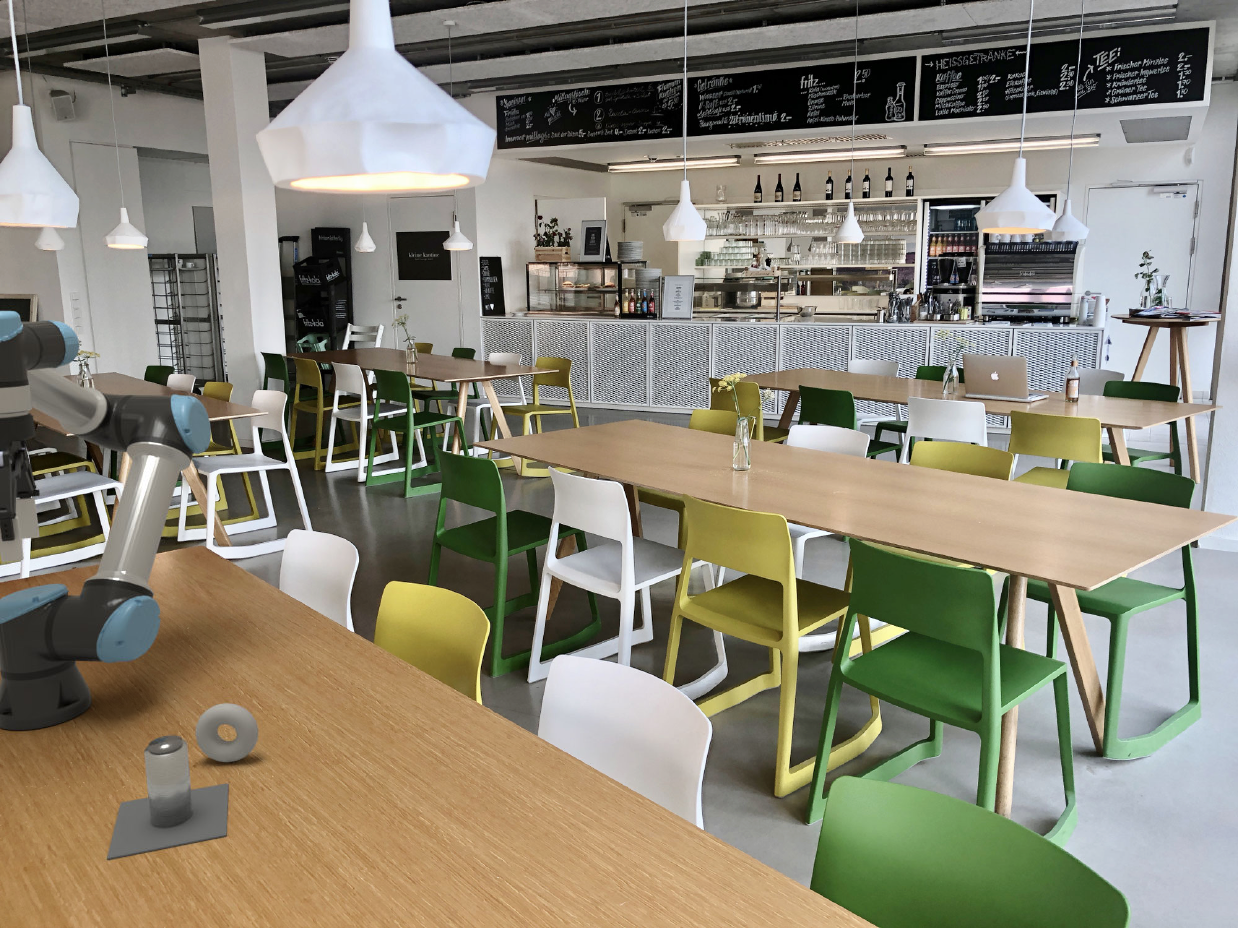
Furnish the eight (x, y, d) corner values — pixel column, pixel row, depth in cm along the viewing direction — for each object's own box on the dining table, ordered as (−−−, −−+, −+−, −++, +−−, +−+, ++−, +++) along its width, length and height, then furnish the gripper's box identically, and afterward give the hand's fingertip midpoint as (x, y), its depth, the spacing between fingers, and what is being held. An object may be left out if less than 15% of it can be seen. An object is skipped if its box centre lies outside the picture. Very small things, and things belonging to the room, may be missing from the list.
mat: (120, 803, 139) (120, 802, 139) (228, 784, 144) (228, 782, 144) (106, 859, 125) (106, 858, 125) (226, 836, 131) (226, 834, 131)
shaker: (152, 810, 137) (145, 736, 134) (193, 803, 139) (187, 730, 136) (148, 831, 131) (141, 754, 129) (191, 823, 133) (185, 747, 131)
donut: (263, 754, 154) (259, 698, 152) (256, 765, 150) (251, 708, 148) (203, 756, 153) (197, 699, 151) (194, 766, 150) (188, 709, 148)
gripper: (-8, 405, 150) (9, 531, 154) (-48, 427, 127) (-27, 574, 131) (46, 403, 153) (61, 526, 157) (16, 424, 130) (35, 568, 134)
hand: (21, 548), depth 144 cm, fingers open, 13 cm apart
